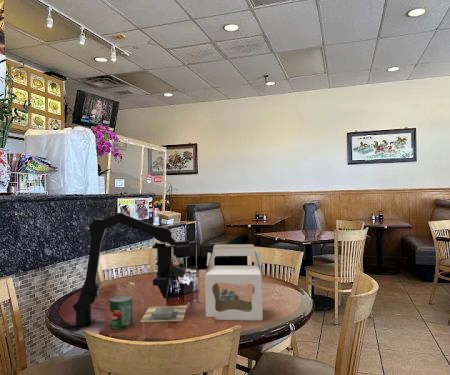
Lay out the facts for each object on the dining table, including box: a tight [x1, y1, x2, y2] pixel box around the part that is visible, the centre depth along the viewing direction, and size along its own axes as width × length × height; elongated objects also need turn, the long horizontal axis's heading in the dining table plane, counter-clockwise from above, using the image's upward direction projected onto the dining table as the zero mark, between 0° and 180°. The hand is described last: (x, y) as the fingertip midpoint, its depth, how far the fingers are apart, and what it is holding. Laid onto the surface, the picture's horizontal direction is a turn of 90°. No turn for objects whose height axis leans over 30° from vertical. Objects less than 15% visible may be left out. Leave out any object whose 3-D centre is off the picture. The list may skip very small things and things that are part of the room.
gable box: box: [204, 243, 264, 321], centre depth 141 cm, size 22×13×28 cm, turn 84°
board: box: [139, 305, 188, 323], centre depth 140 cm, size 18×16×1 cm
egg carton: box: [219, 287, 238, 301], centre depth 162 cm, size 11×8×4 cm
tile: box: [153, 306, 174, 318], centre depth 137 cm, size 2×7×8 cm
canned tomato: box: [109, 294, 133, 334], centre depth 127 cm, size 8×8×11 cm
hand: (165, 298), depth 140 cm, fingers closed
